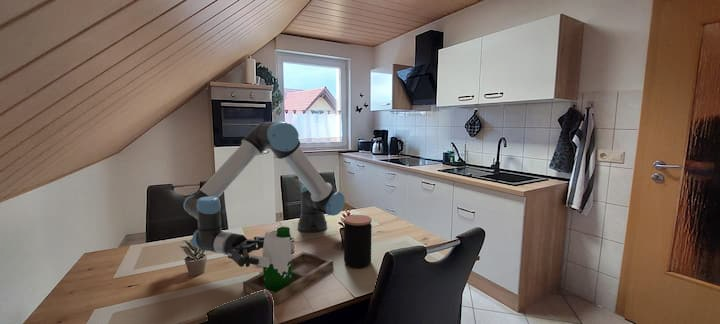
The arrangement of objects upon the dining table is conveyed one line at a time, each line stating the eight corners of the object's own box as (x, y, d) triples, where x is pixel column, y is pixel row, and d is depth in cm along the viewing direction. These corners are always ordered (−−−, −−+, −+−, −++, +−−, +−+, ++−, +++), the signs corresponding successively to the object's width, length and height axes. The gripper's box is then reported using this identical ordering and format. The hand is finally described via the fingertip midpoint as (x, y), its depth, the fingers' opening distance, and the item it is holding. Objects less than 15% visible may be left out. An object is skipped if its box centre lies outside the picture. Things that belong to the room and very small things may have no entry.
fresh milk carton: (292, 292, 98) (291, 232, 95) (263, 296, 96) (261, 235, 93) (291, 279, 106) (290, 224, 104) (264, 282, 104) (262, 226, 101)
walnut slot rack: (303, 258, 122) (303, 251, 122) (333, 268, 114) (333, 260, 114) (243, 291, 98) (243, 282, 98) (275, 305, 90) (275, 296, 90)
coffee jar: (375, 260, 121) (376, 217, 119) (362, 271, 112) (363, 225, 110) (353, 255, 126) (353, 213, 124) (338, 265, 117) (338, 220, 115)
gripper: (256, 241, 118) (302, 250, 110) (201, 270, 95) (256, 283, 87) (255, 223, 117) (302, 230, 109) (200, 247, 94) (255, 258, 86)
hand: (282, 254), depth 98 cm, fingers open, 13 cm apart
